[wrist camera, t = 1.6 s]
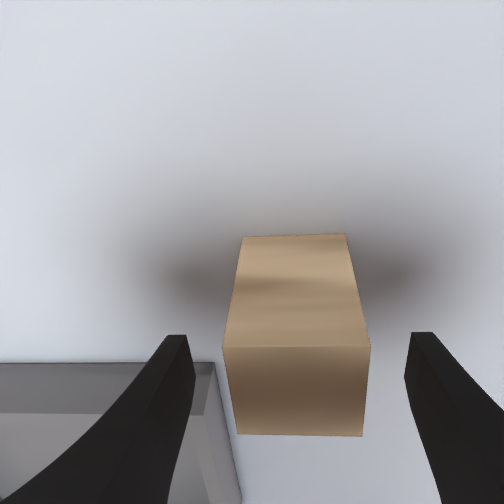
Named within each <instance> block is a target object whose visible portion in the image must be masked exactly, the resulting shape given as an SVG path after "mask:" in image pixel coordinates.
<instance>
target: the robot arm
mask: <svg viewBox="0 0 504 504" xmlns="http://www.w3.org/2000/svg"><path fill="white" fill-rule="evenodd" d="M404 379H405V384H406V389H407V394H408V398H409V403H410V407H411V411H412V414H413V417H414V420H415V423H416V426H417V429H418V432H419V435H420V437H421V440H422V443H423V446H424V449H425V452H426V455H427V458H428V461H429V464H430V467H431V470H432V472H433V475H434V478H435V481H436V485H437V488H438V491H439V495H440V498H441V503H442V504H504V410H503V409H502V408H501V407H499V406H498V405H497V404H496V403H495V402H494V401H493V400H492V398H491V397H490V396H489V395H488V394H487V393H486V392H485V391H484V390H483V389H482V388H481V387H480V386H479V385H478V384H477V383H476V382H475V381H474V379H473V378H472V377H471V376H470V375H469V374H468V373H467V372H466V371H465V370H464V368H463V367H462V366H461V365H460V364H459V363H458V362H457V360H456V359H455V358H454V357H453V356H452V355H451V353H450V352H449V351H448V350H447V349H446V347H445V346H444V345H443V344H442V343H441V341H440V340H439V339H438V338H437V337H436V335H435V334H434V333H433V332H411V338H410V344H409V350H408V356H407V362H406V368H405V374H404ZM195 382H196V373H195V369H194V365H193V361H192V357H191V353H190V349H189V345H188V341H187V336H186V335H168V336H167V337H166V338H165V339H164V341H163V342H162V343H161V345H160V346H159V347H158V349H157V350H156V351H155V353H154V354H153V355H152V357H151V358H150V359H149V361H148V362H147V363H146V365H145V366H144V367H143V368H142V370H141V371H140V372H139V373H138V375H137V376H136V377H135V378H134V380H133V381H132V382H131V383H130V385H129V386H128V387H127V388H126V389H125V391H124V392H123V393H122V394H121V395H120V396H119V397H118V399H117V400H116V401H115V402H114V403H113V404H112V405H111V407H110V408H109V409H108V410H107V411H106V412H105V413H104V414H103V415H102V416H101V417H100V418H99V419H98V420H97V421H96V422H95V423H94V424H93V425H92V426H91V427H90V428H89V429H88V430H87V431H86V432H85V433H84V434H83V435H82V436H81V437H80V438H79V439H78V440H77V441H76V442H75V443H74V444H72V445H71V446H70V447H69V448H68V449H67V450H66V451H65V452H64V453H62V454H61V455H60V456H59V457H58V458H57V459H55V460H54V461H53V462H52V463H51V464H50V465H48V466H47V467H46V468H44V469H43V470H42V471H41V472H39V473H38V474H37V475H36V476H34V477H33V478H32V479H31V480H29V481H28V482H27V483H25V484H24V485H23V486H21V487H20V488H19V489H17V490H16V491H15V492H13V493H12V494H11V495H9V496H8V497H6V498H5V499H3V500H2V501H0V504H167V502H168V497H169V491H170V486H171V482H172V478H173V473H174V470H175V466H176V462H177V459H178V455H179V451H180V448H181V444H182V441H183V437H184V433H185V430H186V426H187V422H188V419H189V415H190V411H191V407H192V402H193V396H194V389H195Z"/></svg>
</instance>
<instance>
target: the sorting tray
mask: <svg viewBox="0 0 504 504" xmlns="http://www.w3.org/2000/svg"><path fill="white" fill-rule="evenodd" d="M145 365H146V363H0V501H2V500H3V499H5V498H6V497H8V496H9V495H11V494H12V493H13V492H15V491H16V490H17V489H19V488H20V487H21V486H23V485H24V484H25V483H27V482H28V481H29V480H31V479H32V478H33V477H34V476H36V475H37V474H38V473H39V472H41V471H42V470H43V469H44V468H46V467H47V466H48V465H50V464H51V463H52V462H53V461H54V460H55V459H57V458H58V457H59V456H60V455H61V454H62V453H64V452H65V451H66V450H67V449H68V448H69V447H70V446H71V445H72V444H74V443H75V442H76V441H77V440H78V439H79V438H80V437H81V436H82V435H83V434H84V433H85V432H86V431H87V430H88V429H89V428H90V427H91V426H92V425H93V424H94V423H95V422H96V421H97V420H98V419H99V418H100V417H101V416H102V415H103V414H104V413H105V412H106V411H107V410H108V409H109V408H110V407H111V405H112V404H113V403H114V402H115V401H116V400H117V399H118V397H119V396H120V395H121V394H122V393H123V392H124V391H125V389H126V388H127V387H128V386H129V385H130V383H131V382H132V381H133V380H134V378H135V377H136V376H137V375H138V373H139V372H140V371H141V370H142V368H143V367H144V366H145ZM193 365H194V369H195V373H196V382H195V389H194V396H193V402H192V407H191V411H190V415H189V419H188V422H187V426H186V430H185V433H184V437H183V441H182V444H181V448H180V451H179V455H178V459H177V462H176V466H175V470H174V473H173V478H172V482H171V486H170V491H169V497H168V502H167V504H242V500H241V495H240V490H239V485H238V480H237V475H236V470H235V465H234V460H233V455H232V450H231V445H230V440H229V435H228V430H227V425H226V420H225V415H224V410H223V405H222V400H221V395H220V390H219V385H218V380H217V375H216V370H215V366H214V363H193Z"/></svg>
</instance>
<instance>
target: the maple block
mask: <svg viewBox="0 0 504 504" xmlns="http://www.w3.org/2000/svg"><path fill="white" fill-rule="evenodd" d="M222 351H223V356H224V362H225V367H226V373H227V378H228V384H229V389H230V395H231V400H232V406H233V412H234V417H235V423H236V428H237V434H252V435H304V436H357V437H362V434H363V424H364V413H365V403H366V393H367V382H368V372H369V361H370V351H371V344H370V340H369V336H368V331H367V327H366V323H365V318H364V314H363V310H362V305H361V301H360V297H359V292H358V288H357V284H356V280H355V275H354V271H353V267H352V262H351V258H350V254H349V249H348V245H347V241H346V236H345V233H333V234H307V235H281V236H255V237H243V240H242V245H241V250H240V255H239V260H238V266H237V271H236V276H235V281H234V287H233V292H232V297H231V302H230V307H229V313H228V318H227V323H226V328H225V333H224V339H223V344H222Z"/></svg>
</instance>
